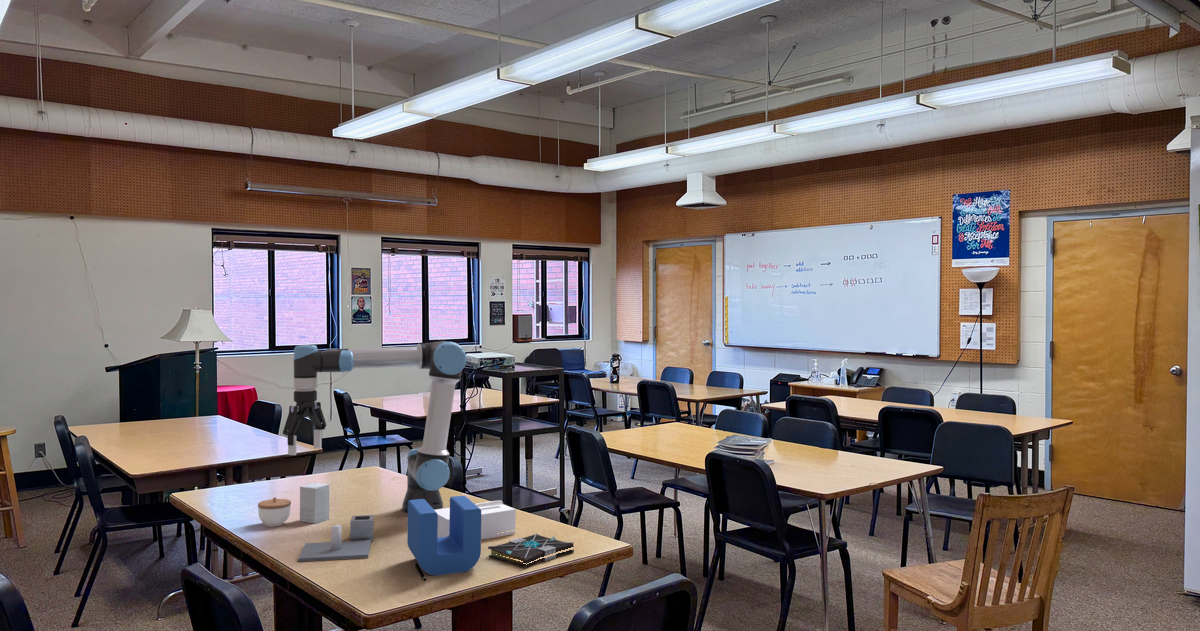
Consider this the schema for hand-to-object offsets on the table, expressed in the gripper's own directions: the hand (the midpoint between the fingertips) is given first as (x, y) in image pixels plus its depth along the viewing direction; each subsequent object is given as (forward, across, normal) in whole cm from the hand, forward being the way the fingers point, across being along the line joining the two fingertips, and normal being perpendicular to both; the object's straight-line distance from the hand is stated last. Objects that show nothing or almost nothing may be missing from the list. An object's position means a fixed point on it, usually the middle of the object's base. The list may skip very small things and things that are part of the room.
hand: (305, 451), depth 272 cm
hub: (+27, +5, +26) cm, 37 cm away
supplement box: (+27, -10, -4) cm, 29 cm away
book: (+28, +2, +84) cm, 89 cm away
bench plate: (+26, +20, +26) cm, 42 cm away
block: (+27, +20, +64) cm, 72 cm away
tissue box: (+28, -12, +57) cm, 65 cm away
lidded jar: (+27, -1, -14) cm, 30 cm away
